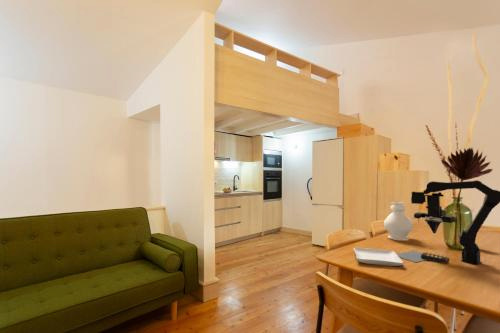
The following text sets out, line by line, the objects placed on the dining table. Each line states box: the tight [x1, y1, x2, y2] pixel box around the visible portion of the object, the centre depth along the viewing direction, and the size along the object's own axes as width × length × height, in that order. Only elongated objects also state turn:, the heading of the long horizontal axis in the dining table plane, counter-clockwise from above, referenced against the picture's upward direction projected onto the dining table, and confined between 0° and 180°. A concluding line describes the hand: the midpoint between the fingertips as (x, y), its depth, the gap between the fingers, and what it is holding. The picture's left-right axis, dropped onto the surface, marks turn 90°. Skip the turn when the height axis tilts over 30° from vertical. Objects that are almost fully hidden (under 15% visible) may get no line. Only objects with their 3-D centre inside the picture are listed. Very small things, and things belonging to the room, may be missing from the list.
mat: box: [396, 250, 428, 263], centre depth 145 cm, size 13×18×1 cm
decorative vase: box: [383, 201, 414, 242], centre depth 185 cm, size 18×18×25 cm
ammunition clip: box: [421, 251, 448, 264], centre depth 142 cm, size 11×2×12 cm
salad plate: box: [353, 247, 404, 267], centre depth 140 cm, size 21×21×3 cm
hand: (434, 233), depth 145 cm, fingers closed
